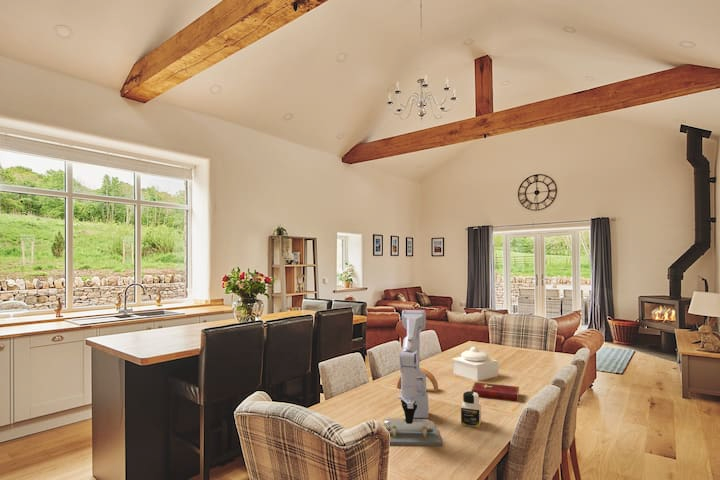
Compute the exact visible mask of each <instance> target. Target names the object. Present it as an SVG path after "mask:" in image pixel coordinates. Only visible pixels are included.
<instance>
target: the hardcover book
mask: <svg viewBox="0 0 720 480" xmlns="http://www.w3.org/2000/svg"><path fill="white" fill-rule="evenodd" d="M471 391H472V392H475V393H477V394H478V395H479V398H485V399H491V400H492V399H494V400H499V401H500V400H501V401H506V402H508V401H509V402H516V403H519V393H520V386H514V385H506V384H505V385H504V384H499V383H498V384H497V383H488V382H480V381H474V382H473V385H472V387H471Z"/></svg>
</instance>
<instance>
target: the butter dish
mask: <svg viewBox="0 0 720 480" xmlns="http://www.w3.org/2000/svg"><path fill="white" fill-rule="evenodd" d="M460 355H461V356H457V357H454V358H453V357H452V359H451V360H452V366H453V367H452V372H453V373H452V374H453V375H456V376H458V377H459V376H460V377H462V378H466V379H469V380H471V381H472V380H473V381H474V382H480V381H483V380H484V381H485V380H489V379H492V378H496V377H499V361H498V360H496V359H493V358H489V354H488V353H486V352H485V351H483V350H479V348H478V347H476V346H472V347H470V349H467V350H466V351H463V352H462V353H461V354H460Z"/></svg>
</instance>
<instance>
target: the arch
mask: <svg viewBox="0 0 720 480" xmlns="http://www.w3.org/2000/svg"><path fill="white" fill-rule="evenodd" d="M419 369H420V370H421V371H422V372H423V373H425V375H426V378H427V379H429V381H430V383H431V384H432V387H433V392H434V393H437V392H438V391H439V384H438V380H437V379H436V378H435V376H434V374H433V373H431V372H430V371H429V370H427V369H425V368H422V367H419ZM396 389H401V376H400V378H399V379H398V381H397V384H396Z"/></svg>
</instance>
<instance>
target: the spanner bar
mask: <svg viewBox="0 0 720 480" xmlns="http://www.w3.org/2000/svg"><path fill="white" fill-rule="evenodd" d="M383 426H385V427H386V429H387V430H388V431H393V428H396V431H407V432H423V429H426V432H429V433H430V432H433V426H434V421H432V420H429V418H413V423H412V424H407V423H406V418H393V417H388V418H387V419H384V420H383Z"/></svg>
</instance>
